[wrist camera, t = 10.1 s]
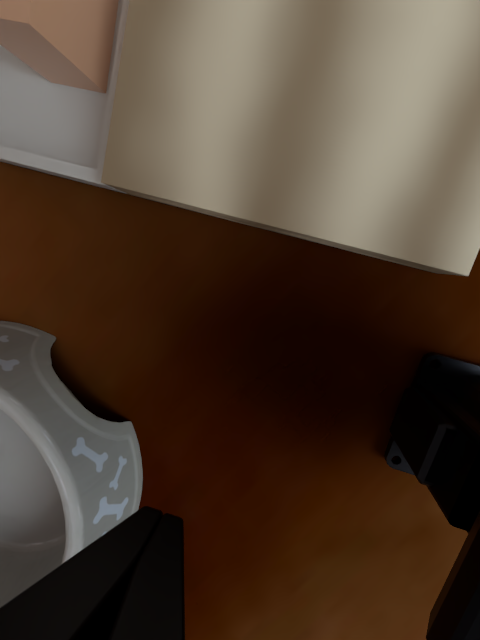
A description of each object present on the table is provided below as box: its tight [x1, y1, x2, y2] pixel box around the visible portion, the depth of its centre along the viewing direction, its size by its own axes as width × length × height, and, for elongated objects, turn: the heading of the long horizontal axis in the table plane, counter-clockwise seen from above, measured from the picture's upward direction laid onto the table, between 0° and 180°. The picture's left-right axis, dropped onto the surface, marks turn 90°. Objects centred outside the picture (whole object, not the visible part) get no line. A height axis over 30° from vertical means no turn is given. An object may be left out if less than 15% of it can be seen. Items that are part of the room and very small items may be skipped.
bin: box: [0, 0, 129, 194], centre depth 16 cm, size 9×14×2 cm
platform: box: [101, 0, 480, 276], centre depth 14 cm, size 16×14×3 cm
